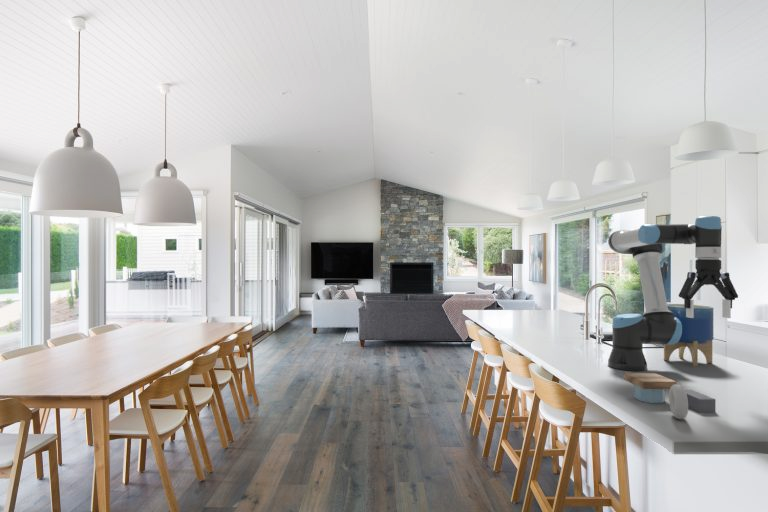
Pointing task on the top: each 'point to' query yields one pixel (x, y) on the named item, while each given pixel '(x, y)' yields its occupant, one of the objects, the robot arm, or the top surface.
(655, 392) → the bowl
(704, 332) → the planter
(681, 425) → the top surface
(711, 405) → the block
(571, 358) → the top surface
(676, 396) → the donut
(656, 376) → the board
